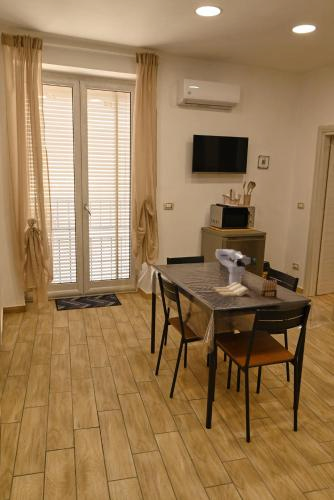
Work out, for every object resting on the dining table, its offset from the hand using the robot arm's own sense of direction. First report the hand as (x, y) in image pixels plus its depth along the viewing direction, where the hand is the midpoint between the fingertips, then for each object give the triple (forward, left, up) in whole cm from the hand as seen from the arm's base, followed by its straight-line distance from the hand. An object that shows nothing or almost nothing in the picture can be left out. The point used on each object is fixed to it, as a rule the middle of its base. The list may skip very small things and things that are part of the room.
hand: (250, 264), depth 261 cm
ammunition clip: (+7, +11, -21) cm, 25 cm away
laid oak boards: (-4, -15, -20) cm, 25 cm away
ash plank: (-4, -6, -18) cm, 19 cm away
